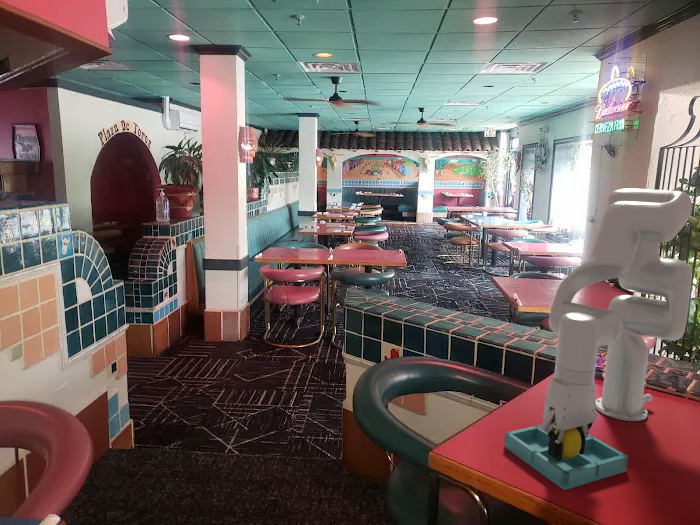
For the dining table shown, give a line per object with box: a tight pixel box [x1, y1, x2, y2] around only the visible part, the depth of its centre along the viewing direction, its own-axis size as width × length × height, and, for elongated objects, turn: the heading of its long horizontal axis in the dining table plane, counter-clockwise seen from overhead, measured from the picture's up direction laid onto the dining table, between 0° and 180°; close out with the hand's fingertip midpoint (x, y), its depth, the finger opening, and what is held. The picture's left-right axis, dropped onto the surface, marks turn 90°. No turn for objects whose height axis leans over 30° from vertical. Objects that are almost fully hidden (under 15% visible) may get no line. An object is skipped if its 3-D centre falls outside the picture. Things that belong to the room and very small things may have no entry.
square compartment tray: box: [504, 424, 629, 491], centre depth 116 cm, size 18×18×4 cm
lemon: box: [555, 428, 581, 460], centre depth 110 cm, size 6×6×8 cm
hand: (565, 453), depth 110 cm, fingers closed on lemon, 5 cm apart
